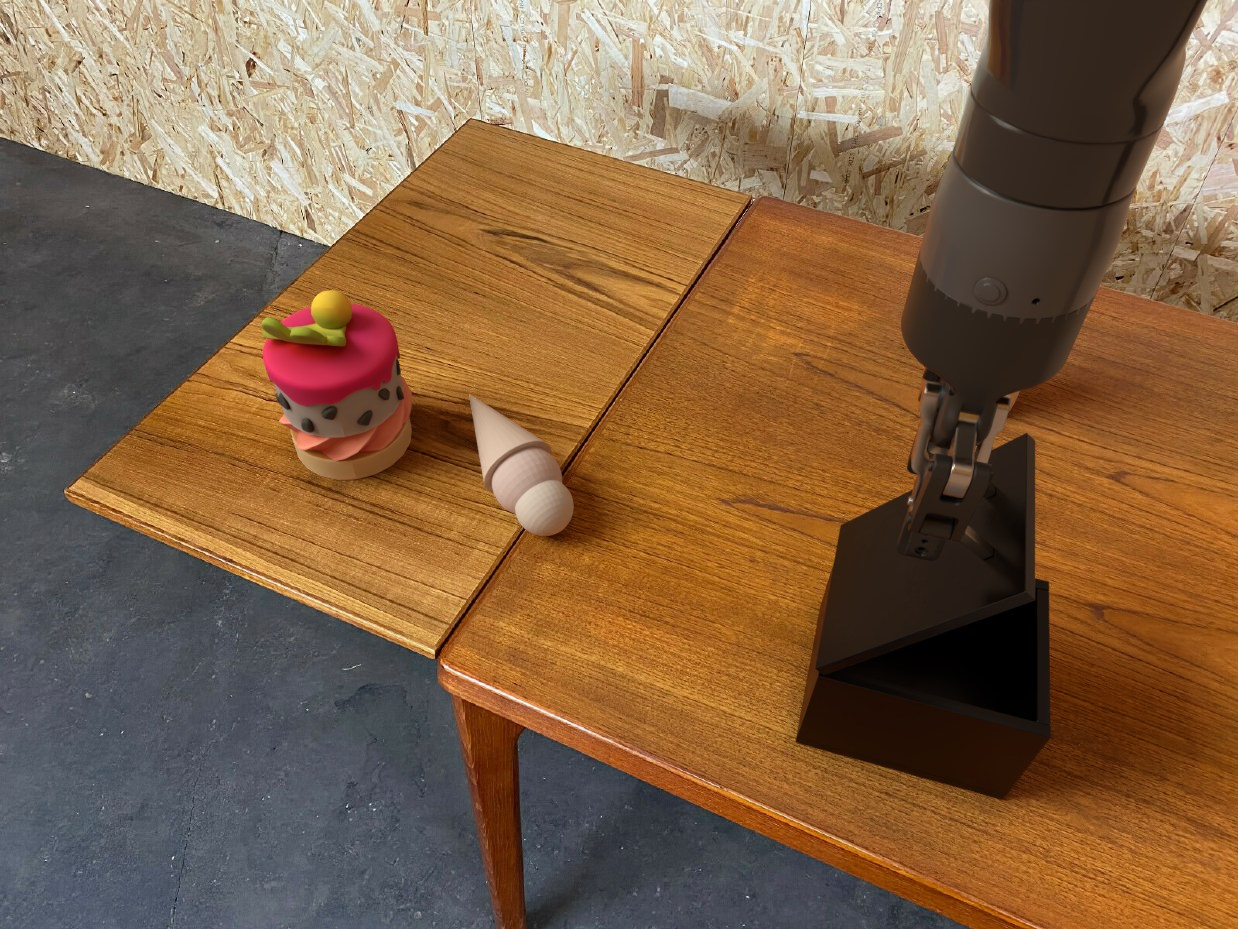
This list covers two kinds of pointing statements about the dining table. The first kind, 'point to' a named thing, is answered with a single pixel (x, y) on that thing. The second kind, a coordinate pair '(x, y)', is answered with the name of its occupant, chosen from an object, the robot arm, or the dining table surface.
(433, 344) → the dining table surface
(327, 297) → the cake
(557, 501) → the ice cream cone
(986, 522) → the bin lid
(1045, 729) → the bin
